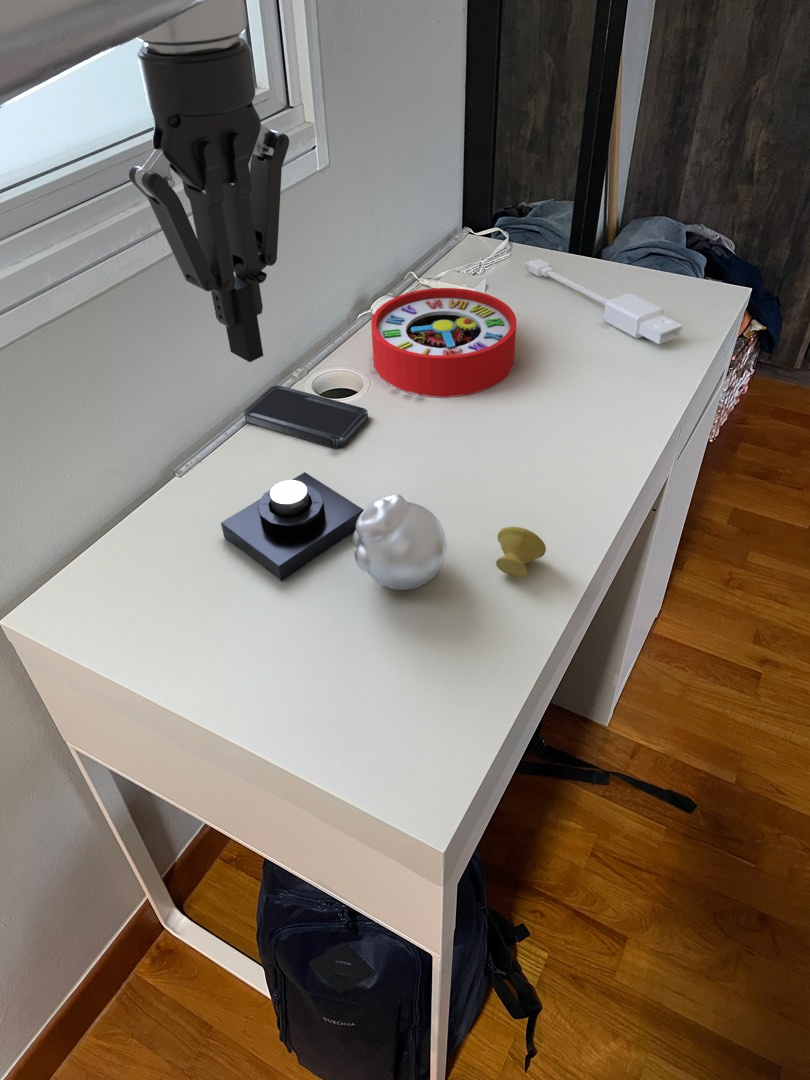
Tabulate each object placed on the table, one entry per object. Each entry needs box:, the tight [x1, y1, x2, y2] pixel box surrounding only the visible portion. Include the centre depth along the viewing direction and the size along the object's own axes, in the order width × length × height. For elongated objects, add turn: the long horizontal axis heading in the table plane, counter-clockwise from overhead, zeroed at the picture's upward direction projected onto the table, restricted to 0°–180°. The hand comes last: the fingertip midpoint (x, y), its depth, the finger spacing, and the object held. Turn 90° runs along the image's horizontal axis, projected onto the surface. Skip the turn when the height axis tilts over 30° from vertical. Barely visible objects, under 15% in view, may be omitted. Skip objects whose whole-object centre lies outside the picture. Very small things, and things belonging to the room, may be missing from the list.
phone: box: [243, 384, 369, 449], centre depth 106 cm, size 8×1×15 cm
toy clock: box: [370, 287, 517, 398], centre depth 114 cm, size 20×6×20 cm
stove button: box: [269, 479, 310, 518], centre depth 87 cm, size 4×4×2 cm
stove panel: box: [220, 472, 364, 582], centre depth 89 cm, size 12×10×4 cm
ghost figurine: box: [352, 493, 448, 591], centre depth 81 cm, size 9×10×10 cm
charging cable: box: [524, 258, 684, 345], centre depth 126 cm, size 5×32×3 cm, turn 31°
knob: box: [495, 526, 547, 578], centre depth 83 cm, size 5×5×5 cm
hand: (247, 353), depth 71 cm, fingers closed
